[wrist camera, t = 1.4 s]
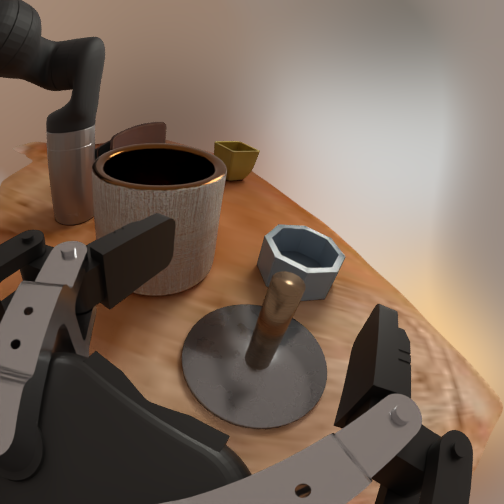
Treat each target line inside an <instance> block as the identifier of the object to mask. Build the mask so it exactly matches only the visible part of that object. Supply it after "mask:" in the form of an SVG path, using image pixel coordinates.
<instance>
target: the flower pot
mask: <svg viewBox="0 0 504 504" xmlns="http://www.w3.org/2000/svg"><path fill="white" fill-rule="evenodd" d="M259 152H260V151H259V150H257V149H255V148H253V147H251V146H249V145H246V144H244V143H242V142H238V141H224V142H223V141H222V142H215V145H214V156H216V157H218V158H219V159H221V160H222V161H223V162H224V164H225V165H226V168H227V174H226V179H227V180H229V181H232V180H242V179H244V178H245V177H246V176H248V174H249V173H250V172H251V171H252V169H253V167H254V165H255V162H256V160H257V157H258V154H259Z"/></svg>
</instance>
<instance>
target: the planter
mask: <svg viewBox="0 0 504 504" xmlns="http://www.w3.org/2000/svg"><path fill="white" fill-rule="evenodd" d="M226 174H227V168H226V165H225V164H224V162H223V161H222V160H221V159H219V158H218V157H216V156H214V155H213V154H211V153H208V152H206V151H203V150H200V149H197V148H193V147H189V146H183V145H177V144H166V143H146V144H135V145H129V146H124V147H120V148H117V149H113V150H111V151H108V152H106V153H104V154H102V155H101V156H99V157H98V158H97V159H96V160H95V161H94V163H93V165H92V190H93V206H94V219H95V230H96V240H97V239H99V238H101V237H103V236H105V235H107V234H109V233H111V232H112V233H113V232H114V231H115V230H117V229H119V228H120V229H121V227H123V226H125V225H127V224H129V223H131V222H136V221H140V220H143V219H145V218H147V217H149V216H151V215H153V214H155V213H159V214H162V215H164V216H167V217H169V218H172V219H174V221H175V224H176V227H175V239H174V252H173V257H172V260H171V262H170V264H169V265H168V266H167V267H166V268H165V269H164V270H162V271H161V272H160V273H158V274H157V275H155V276H154V277H153V278H151V279H150V280H149V281H147V282H146V283H145V284H143V285H142V286H141V287H139V288H138V289H137V290H135V291H134V292H133V293H135V294H140V295H146V296H164V295H171V294H176V293H179V292H182V291H185V290H187V289H190V288H192V287H193V286H195V285H197V284H198V283H199V282H201V281H202V280H203V279H204V278H205V277H206V275H207V274H208V273H209V271H210V269H211V266H212V263H213V259H214V253H215V246H216V239H217V231H218V224H219V217H220V210H221V204H222V198H223V192H224V186H225V180H226Z"/></svg>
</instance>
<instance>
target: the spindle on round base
mask: <svg viewBox="0 0 504 504" xmlns="http://www.w3.org/2000/svg"><path fill="white" fill-rule="evenodd" d="M305 289H306V286H305V283H304V281H303V280H302V279H301V278H300V277H299V276H297V275H296V274H294V273H291V272H286V271H281V272H277V273H275V274H274V275H273V276H272V278H271V281H270V284H269V287H268V290H267V293H266V296H265V299H264V302H263V305H262V306H258V305H232V306H227V307H223V308H220V309H217V310H215V311H213V312H211V313H209V314H207V315H206V316H204V317H203V318H201V319H200V320H199V321H198V322H197V323H196V324H195V325H194V326H193V327H192V329H191V330H190V332H189V333H188V335H187V338H186V340H185V343H184V346H183V352H182V368H183V373H184V377H185V379H186V382H187V385H188V387H189V388H190V390H191V392H192V394H193V395H194V396H195V398H196V399H197V400H198V401H199V402H200V403H201V404H202V405H203V406H204V407H205V408H206V409H207V410H208V411H210V412H211V413H212V414H214V415H215V416H217V417H219V418H220V419H222V420H224V421H226V422H229V423H231V424H234V425H237V426H241V427H245V428H252V429H271V428H277V427H281V426H285V425H288V424H290V423H292V422H294V421H297V420H298V419H300V418H301V417H303V416H304V415H305V414H307V413H308V412H309V411H310V410H311V409H312V408H313V407H314V406H315V405H316V403H317V402H318V401H319V399H320V397H321V395H322V394H323V391H324V388H325V385H326V380H327V366H326V361H325V357H324V354H323V352H322V349H321V347H320V345H319V344H318V342H317V341H316V339H315V338H314V336H313V335H312V334H311V333H310V332H309V331H308V330H307V329H306V328H305V327H304V326H303V325H302V324H300V323H299V322H298V321H296V320H295V319H293V315H294V313H295V311H296V309H297V307H298V305H299V302H300V300H301V298H302V296H303V294H304V291H305Z"/></svg>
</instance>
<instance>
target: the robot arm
mask: <svg viewBox="0 0 504 504" xmlns="http://www.w3.org/2000/svg"><path fill="white" fill-rule="evenodd" d="M104 60H105V47H104V43H103V41H102V40H101V39H100V38H98V37H87V38H80V39H73V40H67V41H60V42H55V41H51V40H48V39H45V38H43V37H41V20H40V17H39V14H38V12H37V11H36V10H35V9H34V8H33V7H32V6H30V5H29V4H27V3H25V2H24V1H22V0H0V77H3V78H16V79H23V80H26V81H28V82H31V83H33V84H35V85H38V86H40V87H42V88H44V89H47V90H51V91H61V90H70V89H73V91H72V96H71V99H70V101H69V102H68V103H67V104H66V105H65V106H64V107H62V108H61V109H58V110H56V111H55V112H53V113H51V114H50V115H49V116H48V117H47V123H46V125H47V154H48V168H49V178H50V187H51V195H52V203H53V209H54V215H55V219H56V221H57V222H59V223H61V224H65V225H73V224H79V223H82V222H85V221H87V220H89V219H91V218H92V217H93V216H94V206H93V190H92V165H93V163H94V161H95V118H96V112H97V107H98V99H99V91H100V84H101V78H102V72H103V66H104ZM175 227H176V224H175V221H174V219H172V218H169V217H167V216H164V215H162V214H159V213H155V214H153V215H151V216H149V217H147V218H145V219H143V220H140V221H136V222H131V223H129V224H127V225H125V226H123V227H121V229H120V228H119V229H117V230H115V231H114V232H113V233H112V232H111V233H109V234H107V235H105V236H103V237H101V238H99V239H97V240H95V241H93V242H91V243H90V244H88V245H84V244H83V243H81V242H77V241H68V242H64V243H61V244H59V245H57V246H56V247H51V246H48V245H45V239H44V234H43V232H41V231H39V230H28V231H25V232H22V233H20V234H19V235H17V236H15V237H13V238H11V239H10V240H8V241H6V242H4V243H2V244H1V245H0V282H1V281H3V280H4V279H5V278H7V277H8V276H10V275H11V274H13V273H14V272H16V271H18V270H19V269H20V272H21V275H22V279H23V281H22V282H21V283H20V285H19V286H18V288H17V290H16V291H14V292H13V293H12V294H10V295H9V296H8V297H6V298H5V299H3V300H2V301H1V300H0V504H346V503H347V502H349V501H350V500H351V499H353V498H354V497H355V496H356V495H358V494H359V493H360V492H362V491H363V490H364V489H365V488H366V487H367V486H368V485H369V484H370V483H371V482H372V479H373V480H375V481H376V482H378V483H380V484H381V485H380V488H379V491H378V495H377V498H376V501H375V504H469V496H470V489H471V478H472V463H473V449H472V445H471V443H470V440H469V439H468V437H467V436H466V435H465V434H464V433H462V432H460V431H457V430H452V431H449V432H447V433H446V434H444V435H443V436H442V437H440V436H439V435H437V434H436V433H434V432H432V431H431V430H429V429H428V428H426V427H425V426H423V425H422V416H421V412H420V410H419V408H418V406H417V405H416V403H415V402H414V401H413V400H412V399H411V365H410V363H411V356H410V341H409V339H408V337H407V334H406V332H405V330H403V329H401V328H398V313H397V311H395V310H393V309H390V308H388V307H385V306H383V305H381V304H377V305H376V306H375V308H374V309H373V311H372V313H371V314H370V316H369V318H368V319H367V321H366V323H365V324H364V326H363V328H362V329H361V331H360V332H359V334H358V336H357V338H356V340H355V342H354V344H353V347H352V350H351V355H350V360H349V365H348V370H347V374H346V379H345V383H344V388H343V392H342V396H341V400H340V404H339V408H338V411H337V415H336V419H335V422H334V426H337V427H340V428H343V429H341V430H340V431H338V432H337V433H335V434H334V433H332V434H330V435H328V436H326V437H324V438H323V439H321V440H319V441H317V442H316V443H314V444H312V445H311V446H309V447H307V448H305V449H304V450H302V451H300V452H298V453H296V454H294V455H293V456H291V457H289V458H287V459H285V460H283V461H281V462H279V463H277V464H275V465H273V466H271V467H268V468H266V469H264V470H262V471H260V472H258V473H255V474H253V475H252V474H251V473H250V471H249V469H248V468H247V466H246V465H245V464H244V462H243V461H242V460H241V458H240V457H239V456H238V455H237V454H236V453H235V452H234V451H233V450H231V449H230V448H229V447H228V446H227V445H226V443H227V441H228V439H229V436H228V435H226V434H224V433H222V432H220V431H218V430H216V429H214V428H212V427H210V426H209V425H207V424H205V423H203V422H201V421H199V420H197V419H196V418H194V417H192V416H189V415H186V414H183V413H180V412H177V411H174V410H171V409H168V408H165V407H162V406H159V405H157V404H154V403H151V402H149V401H148V400H146V399H145V398H144V397H143V395H142V394H141V393H140V392H139V391H138V390H137V389H136V387H135V386H134V385H133V384H132V383H131V381H130V380H129V379H128V378H127V377H126V375H125V374H124V373H123V372H122V371H121V370H120V369H118V368H117V367H116V366H114V365H113V364H112V363H110V362H109V361H108V360H107V359H105V358H104V357H103V356H102V355H100V354H99V353H98V352H97V351H95V352H94V353H93V354H92V355H90V356H89V345H90V340H91V335H92V330H93V325H94V321H95V316H96V311H97V309H96V305H97V304H98V303H101V304H103V305H104V306H106V307H107V308H108V309H112V308H113V307H114V306H115V305H117V304H118V303H119V302H121V301H122V300H123V299H125V298H126V297H127V296H129V295H130V294H131V293H133V292H134V291H135V290H137V289H138V288H139V287H141V286H142V285H143V284H145V283H146V282H147V281H149V280H150V279H151V278H153V277H154V276H155V275H157V274H158V273H160V272H161V271H162V270H164V269H165V268H166V267H167V266H168V265H169V264H170V262H171V260H172V257H173V252H174V239H175Z"/></svg>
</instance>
